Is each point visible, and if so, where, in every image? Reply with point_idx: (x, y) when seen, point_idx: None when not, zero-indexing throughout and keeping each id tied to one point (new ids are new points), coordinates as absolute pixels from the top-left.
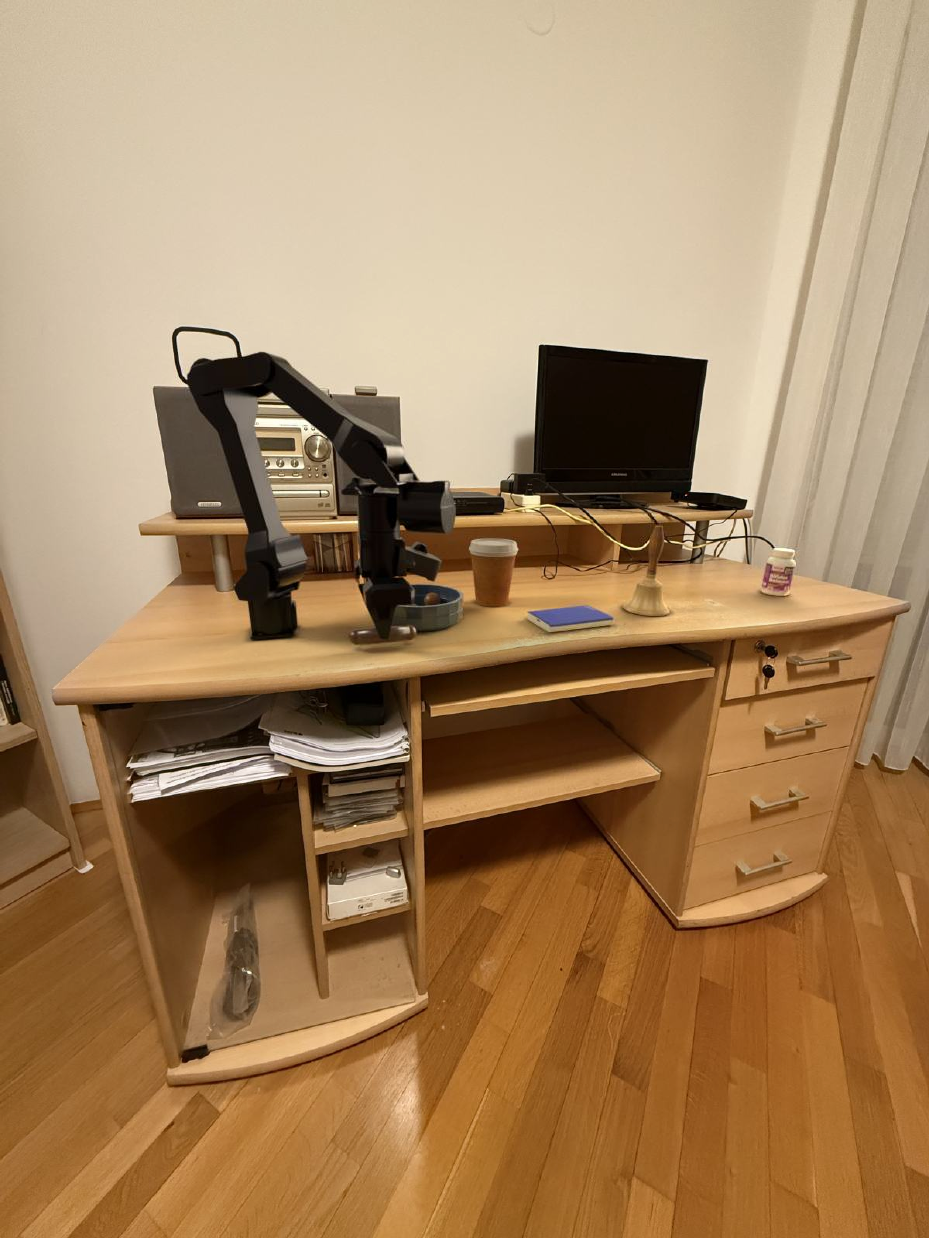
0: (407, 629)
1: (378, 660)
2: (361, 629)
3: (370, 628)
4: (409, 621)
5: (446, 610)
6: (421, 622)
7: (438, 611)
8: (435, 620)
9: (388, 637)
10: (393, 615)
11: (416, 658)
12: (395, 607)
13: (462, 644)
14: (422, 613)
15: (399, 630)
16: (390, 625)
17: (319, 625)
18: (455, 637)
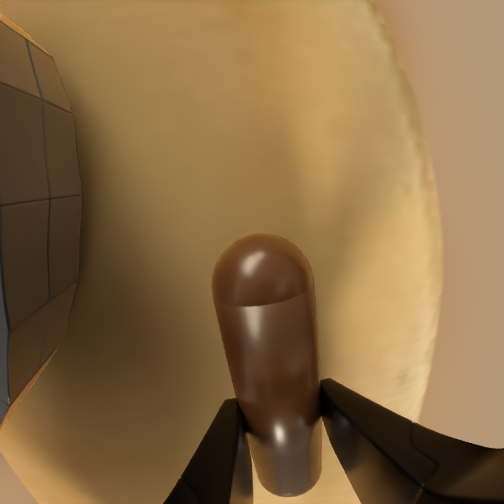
0: (309, 303)
1: (384, 364)
2: (299, 483)
3: (296, 465)
4: (59, 276)
5: (13, 38)
6: (64, 199)
7: (19, 80)
8: (52, 111)
9: (331, 379)
10: (437, 433)
11: (401, 233)
12: (496, 450)
13: (265, 16)
14: (29, 195)
15: (312, 348)
16: (384, 409)
17: (78, 492)
18: (165, 33)
